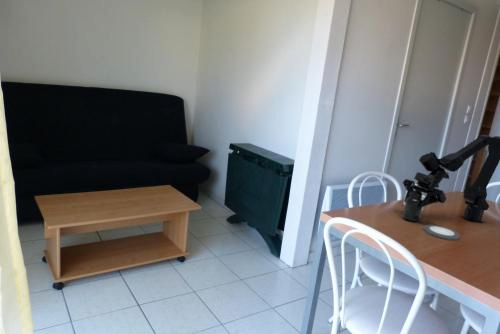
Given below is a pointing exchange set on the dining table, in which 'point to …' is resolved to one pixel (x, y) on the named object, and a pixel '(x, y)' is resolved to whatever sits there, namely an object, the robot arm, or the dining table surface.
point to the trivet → (441, 232)
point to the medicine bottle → (417, 191)
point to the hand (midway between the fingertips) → (411, 204)
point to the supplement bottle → (413, 206)
